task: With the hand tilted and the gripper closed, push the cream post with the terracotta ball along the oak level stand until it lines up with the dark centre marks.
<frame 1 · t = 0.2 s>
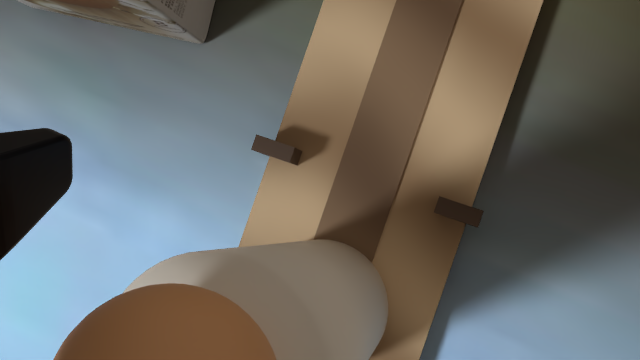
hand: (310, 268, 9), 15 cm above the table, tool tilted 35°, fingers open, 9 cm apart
level stand: (369, 182, 24), on the table
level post: (262, 342, 16), point 9 cm above the table, slide at -5.0 cm
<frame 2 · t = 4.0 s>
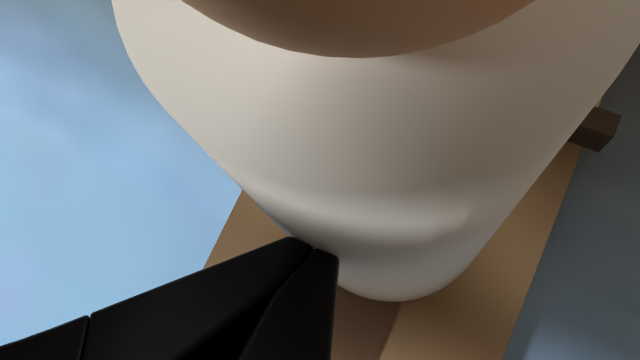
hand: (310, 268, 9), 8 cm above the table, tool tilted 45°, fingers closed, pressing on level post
level stand: (443, 97, 18), on the table
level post: (383, 88, 9), point 9 cm above the table, slide at -3.8 cm, touching gripper
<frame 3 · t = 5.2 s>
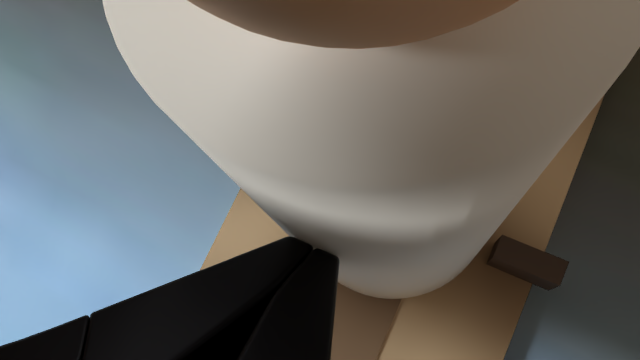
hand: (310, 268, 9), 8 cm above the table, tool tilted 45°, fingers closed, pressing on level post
level stand: (389, 217, 17), on the table
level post: (382, 82, 9), point 9 cm above the table, slide at 0.2 cm, touching gripper
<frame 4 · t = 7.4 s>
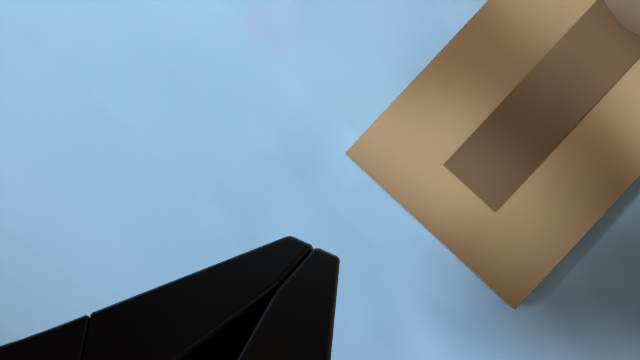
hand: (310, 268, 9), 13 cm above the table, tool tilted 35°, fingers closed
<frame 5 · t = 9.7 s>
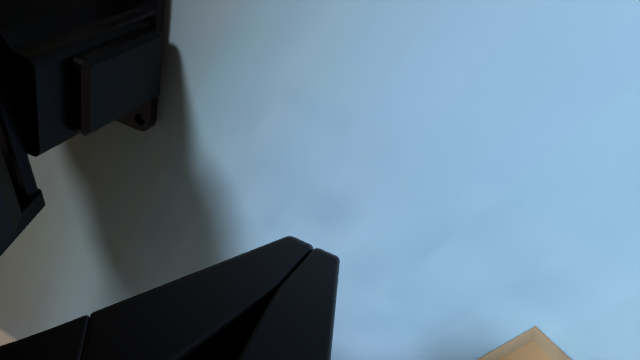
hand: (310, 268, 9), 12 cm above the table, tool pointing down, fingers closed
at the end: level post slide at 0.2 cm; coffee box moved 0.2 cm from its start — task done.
